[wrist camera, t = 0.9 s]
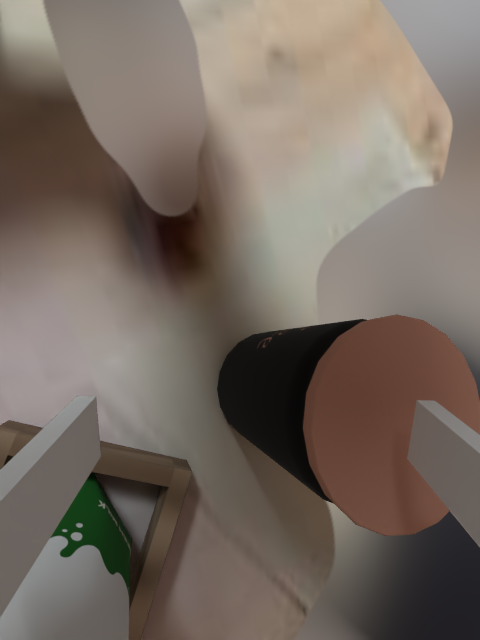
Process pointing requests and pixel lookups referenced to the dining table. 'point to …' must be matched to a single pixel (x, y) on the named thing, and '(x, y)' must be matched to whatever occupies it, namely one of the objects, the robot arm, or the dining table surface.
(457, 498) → the robot arm
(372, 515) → the coffee jar
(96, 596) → the fresh milk carton
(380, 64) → the dining table surface
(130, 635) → the walnut slot rack
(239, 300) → the dining table surface
